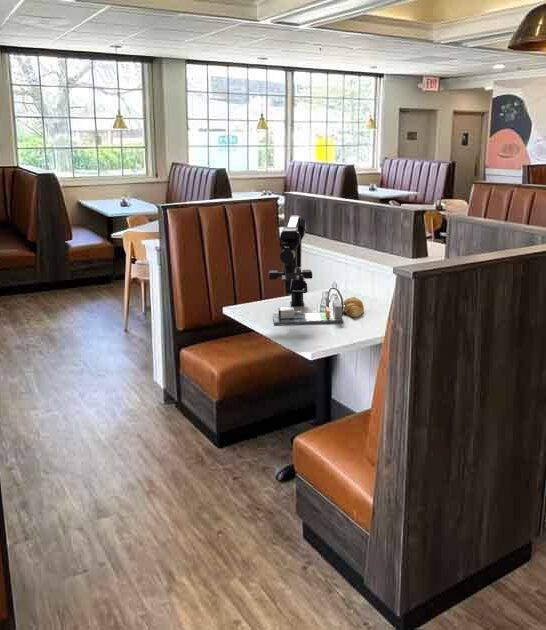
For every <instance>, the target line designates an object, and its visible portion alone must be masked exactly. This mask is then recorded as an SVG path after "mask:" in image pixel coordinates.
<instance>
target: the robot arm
mask: <svg viewBox="0 0 546 630" xmlns="http://www.w3.org/2000/svg"><path fill="white" fill-rule="evenodd" d="M306 232H307V222H306V220H305V219H303V218H302V217H301V216H300V215H289V216H288V219H287V222H286V227H283V228H282V230H281V232H280V237H279V248H283V249H282V251H281V252H280V254H279V259H280V261H281V262H282V263H283V272H282V271H281V272H278V270H273V269H272V270H269V271H268V280H278V278H281V281H282V282H285V284H286V287H287V293H288V294H289V295H290V296H291V297H290V298H291V301H290V307H305V306H306V305H305V302H304V294H306V293H308V283H307V281H306V280H307V279H308V280H309V279H310V280H311V279H313V271H312V270H311V269H302V240H303V238H304V237H305V235H306Z"/></svg>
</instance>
